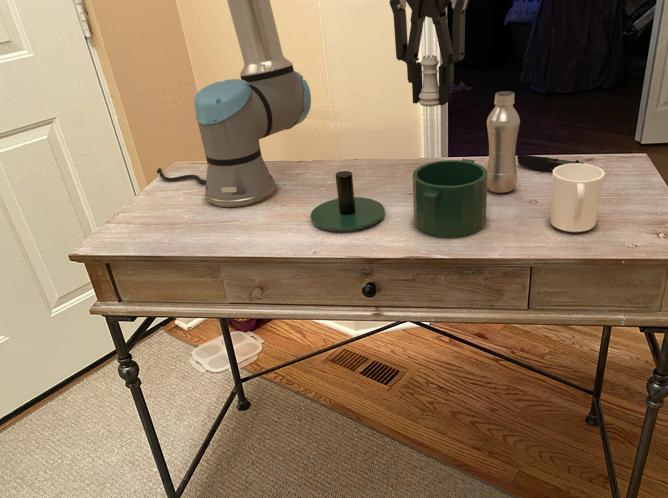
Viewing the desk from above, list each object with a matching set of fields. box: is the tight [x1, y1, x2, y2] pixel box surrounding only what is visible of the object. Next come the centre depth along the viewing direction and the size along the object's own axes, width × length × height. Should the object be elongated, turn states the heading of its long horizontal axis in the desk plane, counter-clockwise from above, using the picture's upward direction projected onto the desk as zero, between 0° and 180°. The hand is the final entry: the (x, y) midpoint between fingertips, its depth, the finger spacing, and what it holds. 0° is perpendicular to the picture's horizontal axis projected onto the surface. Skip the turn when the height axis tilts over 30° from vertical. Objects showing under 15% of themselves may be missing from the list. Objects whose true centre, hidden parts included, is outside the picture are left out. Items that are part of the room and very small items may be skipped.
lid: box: [310, 170, 386, 232], centre depth 120 cm, size 15×15×9 cm
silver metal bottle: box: [486, 91, 521, 194], centre depth 124 cm, size 6×7×20 cm
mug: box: [549, 163, 606, 235], centre depth 110 cm, size 11×9×10 cm
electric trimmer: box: [516, 153, 585, 172], centre depth 136 cm, size 4×16×3 cm, turn 58°
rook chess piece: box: [418, 54, 440, 108], centre depth 107 cm, size 4×4×8 cm
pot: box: [412, 158, 488, 239], centre depth 115 cm, size 14×19×10 cm
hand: (430, 102), depth 109 cm, fingers closed on rook chess piece, 4 cm apart
